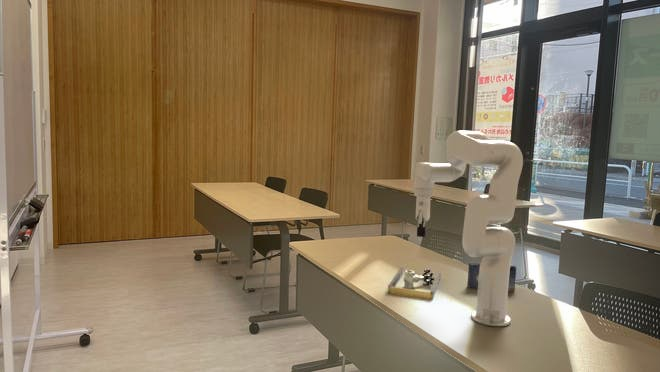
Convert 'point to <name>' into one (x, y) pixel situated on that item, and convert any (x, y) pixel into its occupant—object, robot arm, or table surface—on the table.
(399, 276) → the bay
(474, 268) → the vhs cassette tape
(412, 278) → the valve
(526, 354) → the table surface
